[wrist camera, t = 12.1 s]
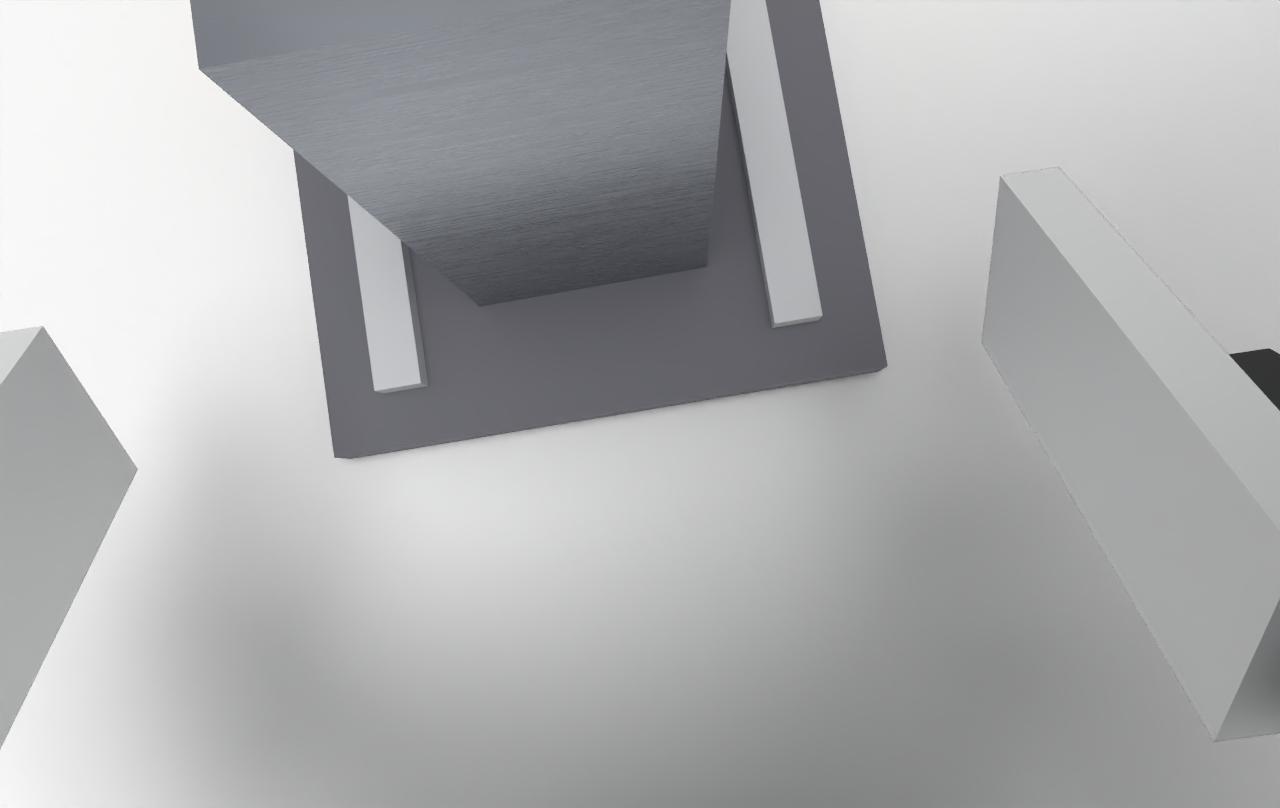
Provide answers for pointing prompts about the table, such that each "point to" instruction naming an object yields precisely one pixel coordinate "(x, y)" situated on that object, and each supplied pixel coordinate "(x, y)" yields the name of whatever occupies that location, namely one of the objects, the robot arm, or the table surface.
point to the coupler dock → (618, 284)
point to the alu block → (496, 125)
